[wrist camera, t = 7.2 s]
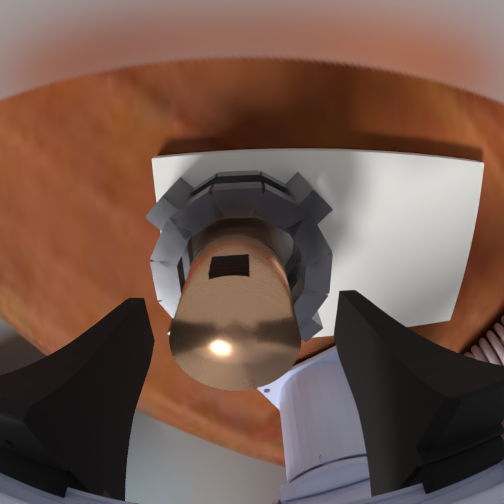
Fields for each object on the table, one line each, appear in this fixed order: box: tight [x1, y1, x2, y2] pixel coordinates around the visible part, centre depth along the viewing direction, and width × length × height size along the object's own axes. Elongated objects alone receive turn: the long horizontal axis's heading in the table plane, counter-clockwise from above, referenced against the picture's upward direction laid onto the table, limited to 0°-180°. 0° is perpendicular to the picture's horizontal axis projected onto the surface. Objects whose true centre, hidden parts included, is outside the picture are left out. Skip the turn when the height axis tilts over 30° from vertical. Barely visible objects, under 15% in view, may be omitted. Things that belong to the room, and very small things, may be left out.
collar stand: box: [145, 170, 333, 342], centre depth 16 cm, size 8×8×4 cm
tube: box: [169, 217, 301, 391], centre depth 13 cm, size 4×4×9 cm
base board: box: [152, 148, 484, 337], centre depth 19 cm, size 20×12×1 cm, turn 92°
